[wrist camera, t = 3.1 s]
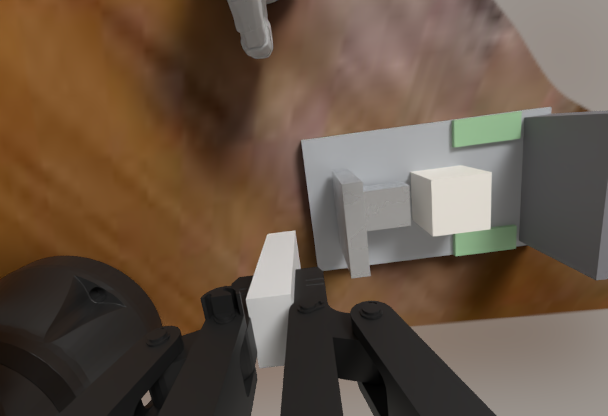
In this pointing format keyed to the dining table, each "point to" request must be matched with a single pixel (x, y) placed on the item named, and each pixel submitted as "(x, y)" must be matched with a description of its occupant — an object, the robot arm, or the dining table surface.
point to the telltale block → (451, 200)
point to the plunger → (366, 215)
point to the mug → (253, 26)
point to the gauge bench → (504, 189)
